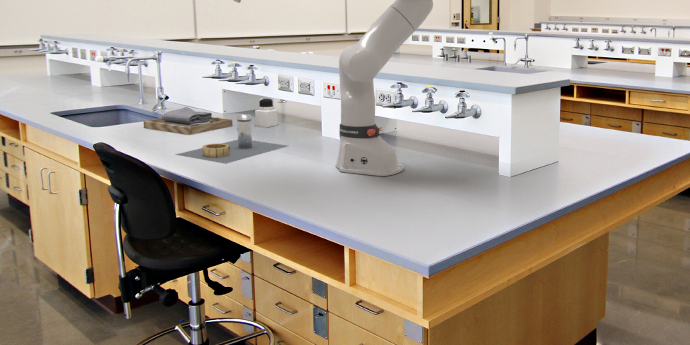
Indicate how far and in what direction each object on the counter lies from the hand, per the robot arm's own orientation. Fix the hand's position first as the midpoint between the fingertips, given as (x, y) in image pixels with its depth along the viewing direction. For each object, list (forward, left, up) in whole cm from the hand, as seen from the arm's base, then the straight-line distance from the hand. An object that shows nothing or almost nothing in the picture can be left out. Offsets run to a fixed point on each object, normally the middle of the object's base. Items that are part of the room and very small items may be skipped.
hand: (236, 1), depth 185 cm
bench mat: (+20, -18, -52) cm, 59 cm away
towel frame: (+71, -44, -52) cm, 99 cm away
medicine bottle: (+45, -66, -52) cm, 96 cm away
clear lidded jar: (+20, -24, -51) cm, 60 cm away
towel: (+72, -44, -53) cm, 99 cm away
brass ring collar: (+20, -9, -51) cm, 56 cm away
